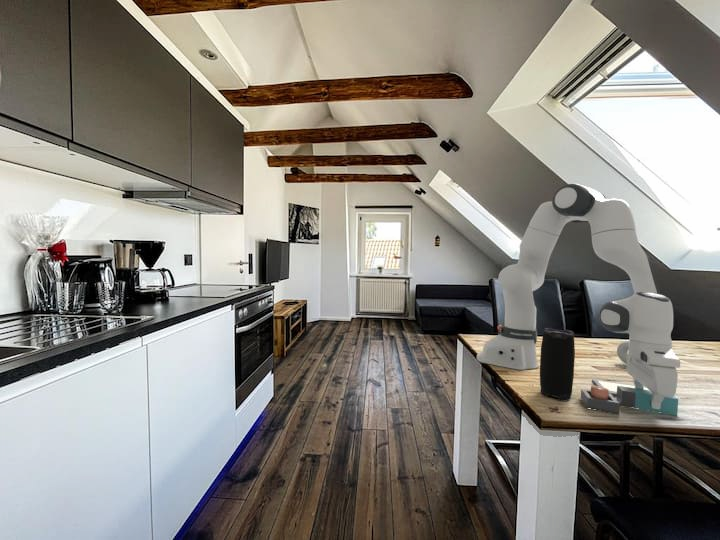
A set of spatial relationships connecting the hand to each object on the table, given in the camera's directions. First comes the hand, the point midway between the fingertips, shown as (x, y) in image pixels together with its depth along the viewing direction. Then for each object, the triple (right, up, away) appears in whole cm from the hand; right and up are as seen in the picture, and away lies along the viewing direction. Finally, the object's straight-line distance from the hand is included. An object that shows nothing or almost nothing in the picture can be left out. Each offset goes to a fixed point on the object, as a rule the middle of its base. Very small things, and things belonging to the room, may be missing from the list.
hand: (646, 400), depth 89 cm
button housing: (-13, -2, 0) cm, 13 cm away
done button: (-13, 0, 0) cm, 13 cm away
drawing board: (+4, -2, +11) cm, 12 cm away
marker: (0, -2, 0) cm, 2 cm away
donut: (+29, -2, +39) cm, 48 cm away
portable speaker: (-21, -1, +7) cm, 22 cm away
